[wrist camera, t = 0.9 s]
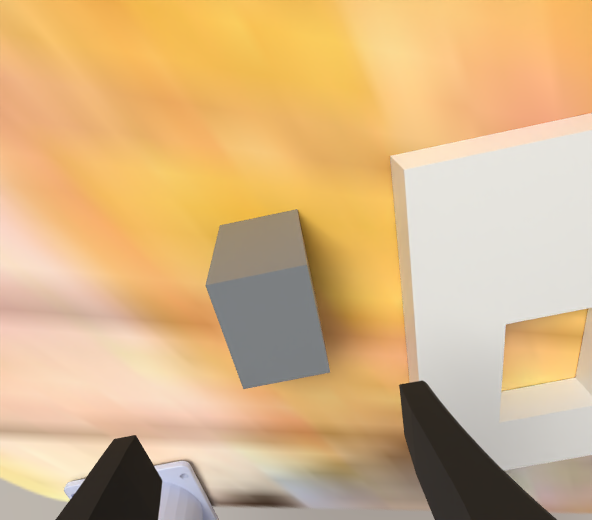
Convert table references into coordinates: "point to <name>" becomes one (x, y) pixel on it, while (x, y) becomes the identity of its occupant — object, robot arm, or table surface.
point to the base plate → (499, 279)
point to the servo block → (267, 300)
